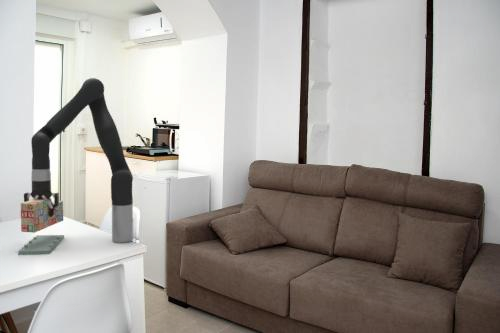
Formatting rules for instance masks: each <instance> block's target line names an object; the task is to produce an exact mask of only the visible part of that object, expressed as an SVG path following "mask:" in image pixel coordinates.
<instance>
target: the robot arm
mask: <svg viewBox="0 0 500 333" xmlns="http://www.w3.org/2000/svg"><path fill="white" fill-rule="evenodd" d="M106 102H107V101H106V98H105V85H104V83H103V82H102V81H101V80H100V79H98V78H96V77H90V78H87V79H86V80H85V81H84V82H83V83H82V85H81V87H80V88H79V90H78V91H77V92H76V94H75V95H74V96H73V97H72V98H71V99H70V100H69V101H68V102H67V103H66V104H65V105H64V106H63V107H61V108H60V109H59V110H58V111H57V112H56V113H55V114H54V115H53V116H52V117H51V118H50V119H49V120H48V121H47V122H46V124H44V126H42V127H41V128H40V129H38V131H37V132H36V133H34V134H33V135H32V137H31V139H30V140H31V143H30V144H31V155H32V158H31V179H30V180H31V192H27V191H26V192H25V193H24V194H23V202H26V201H30V197H32V199H33V200H37V199H42V200H47V204H48V205H49V207H50V217H52V216H53V215H54V208H55V207H57V206H58V205H59V201H60V194H59V192H52V172H51V158H50V150H51V149H50V144H51V142H52V141H53V140H54V139H56V137H57V136H58V135H60V134H61V133H63V132H64V131H65V130H66V129H67V128H68V127H69V126H70V125H71V124H72V122H73V121H74V120H75V119H76V118H77V117H78V115H79V114H80V113H81V112H82V111H83V110H84V109H85V108H86V107H87V106H88V108H89V110H90V114H91V117H92V120H93V121H92V122H93V126H94V130H95V133H96V138H97V140H98V143H99V145H100V148H101V149H102V151H103V154H104V155H105V157H106V158H107V160H108V163H109V166H110V170H111V175H112V176H111V178H110V200H111V240H112V242H113V243H116V244H117V243H121V244H123V243H131V242H133V240H134V218H133V216H134V215H133V214H134V213H133V211H134V210H133V205H134V204H133V180H134V176H133V173H132V171H131V169H130V168H129V165H128V162H127V160H126V157H125V154H124V149H123V145H122V141H121V138H120V134H119V130H118V128H117V125H116V123H115V120H114V119H113V117H112V115H111V113H110V111H109V109H108V105H107V103H106ZM51 197H52V198H53V200H52V199H51V200H52V201H54V204H53V203H52V201H51V200H50V201H49V200H48V199H50V198H51Z"/></svg>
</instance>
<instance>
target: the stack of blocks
mask: <svg viewBox="0 0 500 333" xmlns="http://www.w3.org/2000/svg"><path fill="white" fill-rule="evenodd" d="M48 200H49V201H50V200H51V201H52V203H53V204H54V200H52V198H51V197H50V199H48ZM63 221H64V201H63V200H59V205H58V206H57V207H55V208H54V215H53V216H52V217H50V207H49V205H48V204H47V200H42V199H37V200H33V198H32V199H29V201H26V202H24V201H23V202H20V225H21V226H20V227H21V233H37V232H39V231H42V230H44V229H48V227H49V228H50V227H51V226H53V225H56V224H58V223H61V222H63Z"/></svg>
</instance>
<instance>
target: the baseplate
mask: <svg viewBox="0 0 500 333" xmlns="http://www.w3.org/2000/svg"><path fill="white" fill-rule="evenodd" d="M64 239H65V234H44V235H43V234H42V235H41V234H40V235H39V234H36V235H35V236H33V238H32V239H30V240H29V241H28V242H27V243H26V244H24V245H23V246H22V247H21V248H20V249H19V250H18V251H17V254H18V256H19V255H21V256H22V255H24V256H27V255H50V254H51V253H52V252H53V251H54V250H55V249H56V248H57V246H59V245H60V243H62V241H63V240H64Z"/></svg>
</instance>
